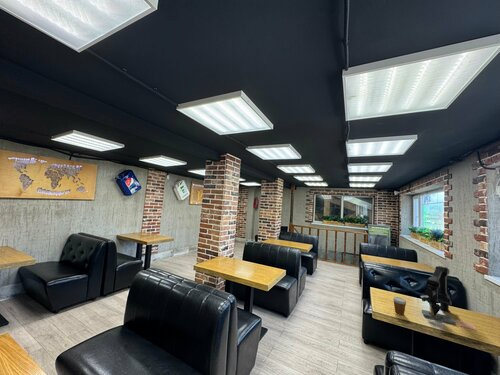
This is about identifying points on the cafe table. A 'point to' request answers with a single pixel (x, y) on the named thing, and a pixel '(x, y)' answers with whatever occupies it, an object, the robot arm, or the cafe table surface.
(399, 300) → the disposable coffee cup
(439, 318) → the rail plate
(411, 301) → the cafe table surface
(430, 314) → the brass block
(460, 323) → the mat
